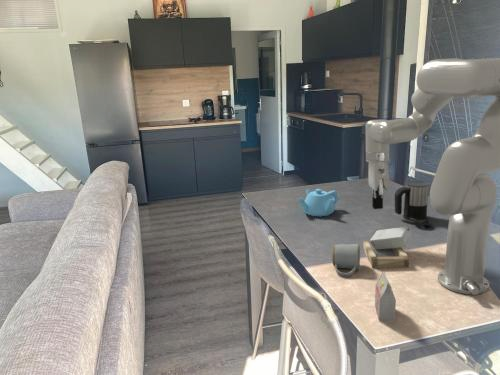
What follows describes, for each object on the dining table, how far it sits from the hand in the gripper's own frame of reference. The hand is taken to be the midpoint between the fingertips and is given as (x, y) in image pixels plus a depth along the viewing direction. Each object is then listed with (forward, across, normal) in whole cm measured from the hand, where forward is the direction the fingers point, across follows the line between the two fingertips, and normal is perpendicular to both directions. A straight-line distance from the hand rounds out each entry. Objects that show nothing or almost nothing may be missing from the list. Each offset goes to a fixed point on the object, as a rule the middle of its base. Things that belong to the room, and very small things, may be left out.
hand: (377, 208), depth 134 cm
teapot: (+11, +34, +18) cm, 40 cm away
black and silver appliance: (+13, +20, -21) cm, 31 cm away
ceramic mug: (+13, -20, +14) cm, 28 cm away
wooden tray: (+13, -12, +1) cm, 18 cm away
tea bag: (+14, -44, +9) cm, 47 cm away
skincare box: (+10, -4, +2) cm, 11 cm away
